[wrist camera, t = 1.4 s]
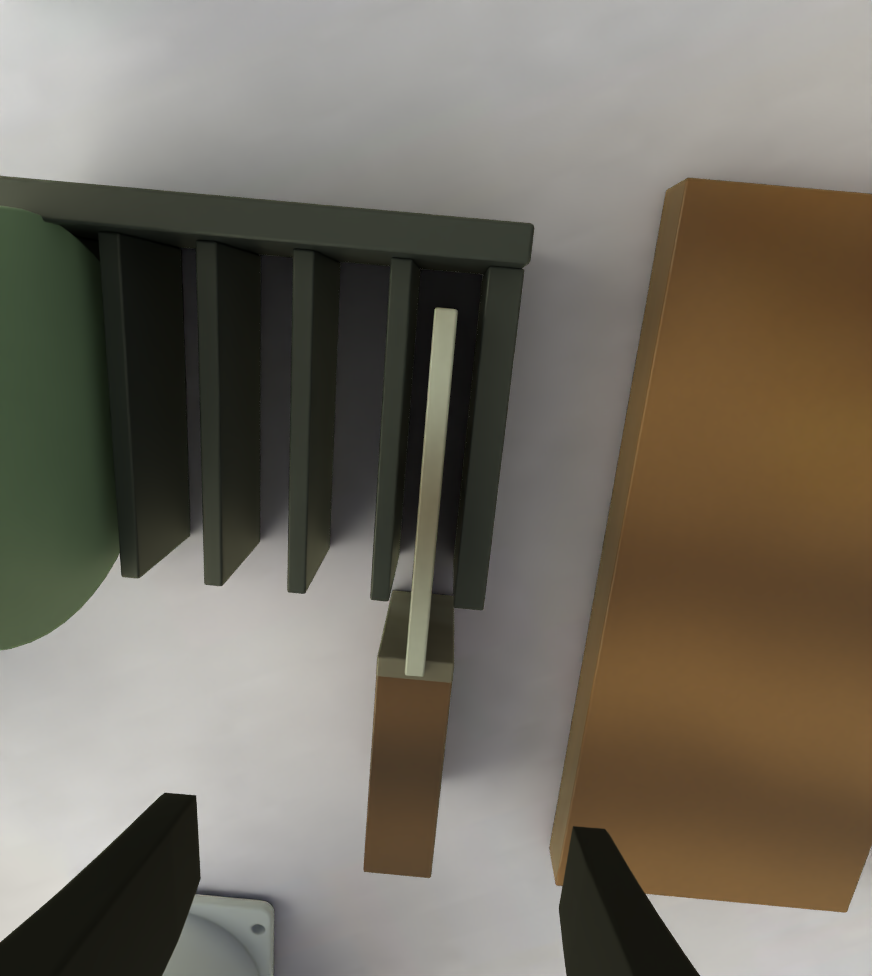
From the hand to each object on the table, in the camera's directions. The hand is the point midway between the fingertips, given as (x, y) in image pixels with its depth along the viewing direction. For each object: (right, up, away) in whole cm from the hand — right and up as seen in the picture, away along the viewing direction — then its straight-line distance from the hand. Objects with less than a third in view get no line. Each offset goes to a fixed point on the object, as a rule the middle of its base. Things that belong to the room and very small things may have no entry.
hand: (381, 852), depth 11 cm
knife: (+1, +4, +8) cm, 9 cm away
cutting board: (+11, +4, +7) cm, 14 cm away
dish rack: (-3, +9, +6) cm, 12 cm away
